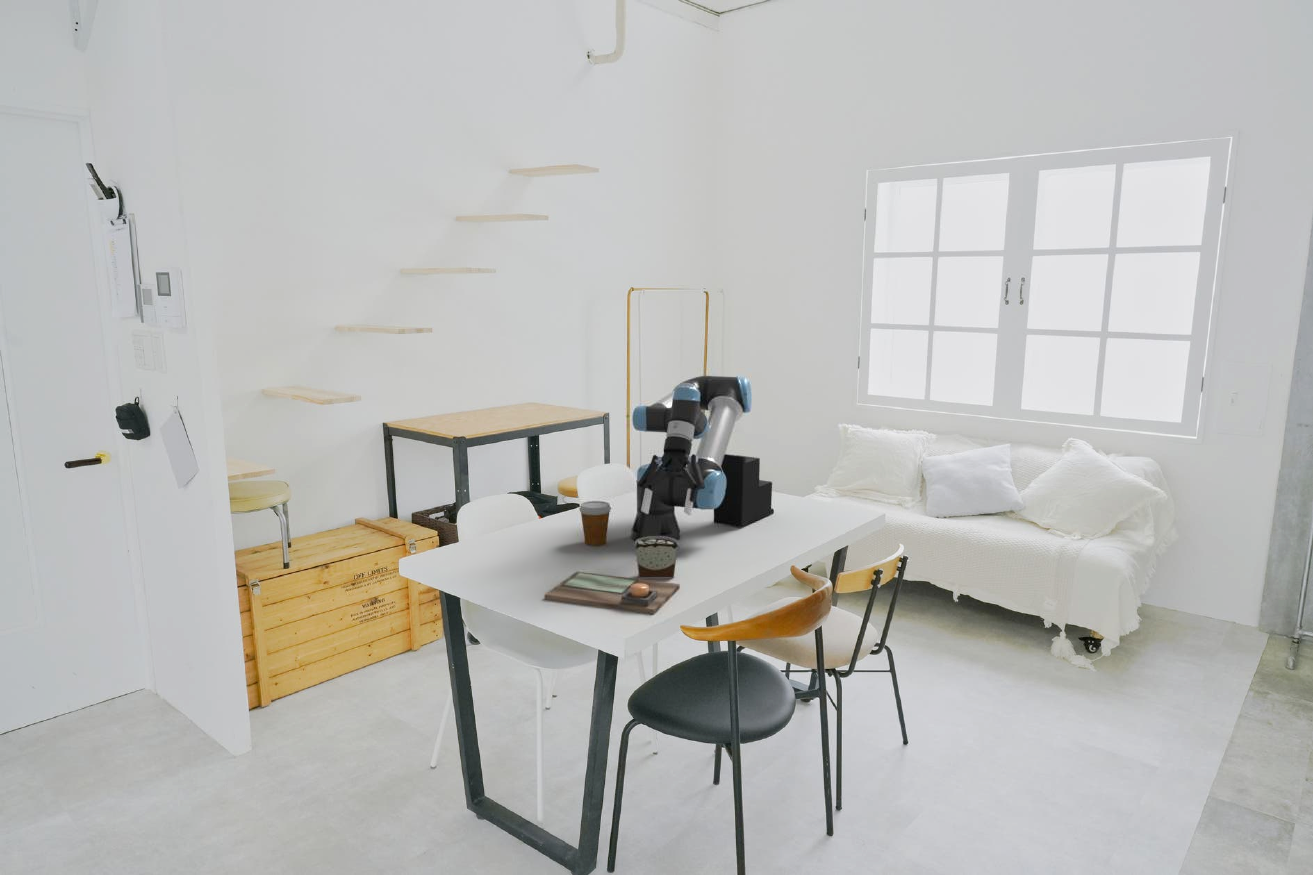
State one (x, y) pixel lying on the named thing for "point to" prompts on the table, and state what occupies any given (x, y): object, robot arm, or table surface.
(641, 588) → the button
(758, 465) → the black stepped block
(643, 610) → the picture board
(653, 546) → the food container
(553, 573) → the table surface
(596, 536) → the disposable coffee cup
